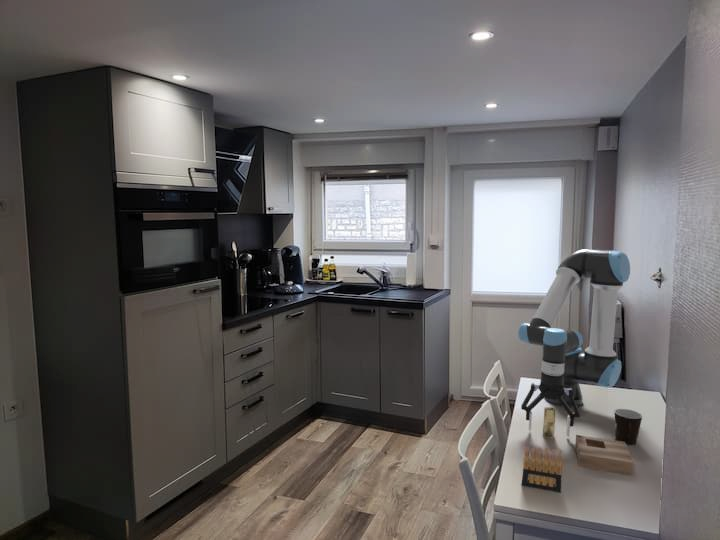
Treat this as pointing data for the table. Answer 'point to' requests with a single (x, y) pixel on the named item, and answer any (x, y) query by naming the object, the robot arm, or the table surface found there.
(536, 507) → the table surface
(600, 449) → the block
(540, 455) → the ammunition clip
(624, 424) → the coffee mug
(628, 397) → the table surface
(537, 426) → the table surface
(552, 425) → the tan cylinder
